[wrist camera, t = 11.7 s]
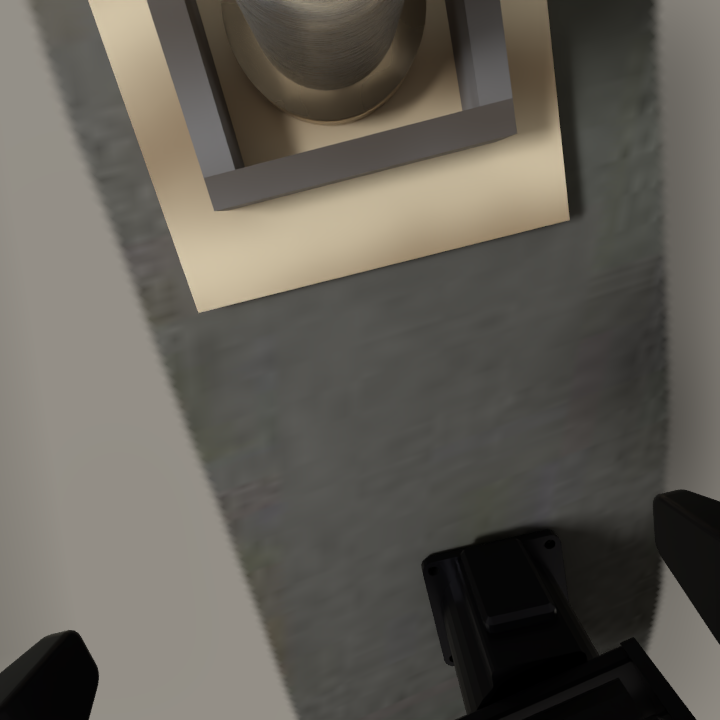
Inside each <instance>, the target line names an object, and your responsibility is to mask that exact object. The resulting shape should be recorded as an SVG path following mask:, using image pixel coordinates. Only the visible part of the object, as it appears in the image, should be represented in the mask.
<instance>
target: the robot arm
mask: <svg viewBox="0 0 720 720" xmlns="http://www.w3.org/2000/svg"><path fill="white" fill-rule="evenodd" d="M653 516H654V531H655V542H656V546H657V549H658V551H659V553H660V555H661V557H662V558H663V560H664V562H665V563H666V565H667V566H668V568H669V569H670V571H671V572H672V574H673V575H674V577H675V578H676V579H677V581H678V583H679V584H680V586H681V587H682V589H683V590H684V592H685V593H686V595H687V596H688V598H689V599H690V601H691V602H692V604H693V605H694V607H695V608H696V610H697V611H698V613H699V614H700V616H701V617H702V619H703V620H704V622H705V623H706V625H707V626H708V628H709V629H710V631H711V632H712V634H713V635H714V637H715V638H716V640H717V641H718V643H719V644H720V502H719V501H717V500H714V499H711V498H708V497H705V496H702V495H699V494H696V493H693V492H691V491H687V490H675V491H671V492H666V493H662V494H658V495H657V496H656V497H655V498H654V500H653ZM548 540H551V541H550V542H549V543H545V542H546V541H548ZM421 567H422V572H423V576H424V580H425V584H426V588H427V592H428V596H429V600H430V604H431V608H432V612H433V616H434V620H435V624H436V628H437V632H438V636H439V640H440V644H441V648H442V652H443V656H444V661H445V662H446V664H448V665H450V666H455V669H456V673H457V677H458V681H459V685H460V689H461V693H462V697H463V701H464V705H465V709H466V713H467V715H465V716H462V717H460V718H458V719H456V720H696V719H695V717H694V716H693V715H692V713H691V712H690V711H689V709H688V708H687V707H686V705H685V704H684V703H683V702H682V700H681V699H680V698H679V696H678V695H677V694H676V692H675V691H674V690H673V688H672V687H671V686H670V684H669V683H668V682H667V680H666V679H665V678H664V676H663V675H662V674H661V672H660V671H659V670H658V668H657V667H656V666H655V664H654V663H653V662H652V660H651V659H650V658H649V657H648V655H647V654H646V653H645V651H644V650H643V649H642V647H641V646H640V645H639V643H638V642H637V641H636V639H635V638H634V637H633V638H630V639H628V640H626V641H624V642H621V643H620V644H621V646H620V647H618V648H615V649H613V650H611V651H609V652H606V653H604V654H602V655H600V656H599V654H598V652H597V651H596V649H595V647H594V645H593V644H592V642H591V640H590V639H589V637H588V635H587V633H586V632H585V630H584V628H583V626H582V625H581V623H580V621H579V620H578V618H577V616H576V614H575V613H574V611H573V609H572V607H571V606H570V604H569V600H568V593H567V585H566V578H565V570H564V563H563V556H562V548H561V542H560V539H559V538H558V536H557V535H556V533H555V532H554V531H552V530H543V531H539V532H535V533H530V534H526V535H521V536H517V537H513V538H508V539H504V540H500V541H495V542H491V543H487V544H482V545H478V546H474V547H469V548H465V549H461V550H456V551H452V552H447V553H443V554H439V555H434V556H430V557H427V558H426V559H424V560H423V562H422V564H421ZM431 567H436V568H435V569H429V568H431ZM98 680H99V672H98V668H97V665H96V663H95V662H94V660H93V658H92V656H91V654H90V652H89V650H88V649H87V647H86V645H85V643H84V641H83V640H82V638H81V636H80V635H79V633H77V632H76V631H73V630H68V631H63V632H59V633H55V634H51V635H48V636H46V637H44V638H43V639H41V640H40V641H39V642H38V643H36V644H35V645H34V646H33V647H31V648H30V649H29V650H28V651H26V652H25V653H24V654H23V655H22V656H20V657H19V658H18V659H17V660H16V661H14V662H13V663H12V664H11V665H9V666H8V667H7V668H6V669H5V670H4V671H2V672H1V673H0V720H89V716H90V713H91V709H92V705H93V702H94V698H95V694H96V691H97V686H98Z"/></svg>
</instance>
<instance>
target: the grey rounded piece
mask: <svg viewBox="0 0 720 720" xmlns="http://www.w3.org/2000/svg"><path fill="white" fill-rule="evenodd" d="M221 7H222V15H223V22H224V26H225V30H226V35H227V38H228V40H229V43H230V46H231V49H232V51H233V53H234V55H235V57H236V59H237V61H238V63H239V65H240V66H241V68H242V70H243V71H244V73H245V74H246V76H247V77H248V78H249V80H250V81H251V82H252V84H253V85H254V86H255V88H256V89H257V90H258V91H259V92H260V94H261V95H262V96H263V97H264V98H265V99H266V100H267V101H268V102H269V103H270V104H272V105H273V106H274V107H276V108H277V109H278V110H280V111H281V112H283V113H285V114H286V115H288V116H290V117H292V118H294V119H297V120H300V121H302V122H305V123H310V124H314V125H324V126H332V125H342V124H347V123H351V122H354V121H357V120H359V119H362V118H364V117H366V116H368V115H370V114H371V113H373V112H374V111H376V110H377V109H379V108H380V107H381V106H383V105H384V104H385V103H386V102H387V101H388V100H389V99H390V98H391V97H392V96H393V95H394V93H395V92H396V91H397V90H398V88H399V87H400V86H401V84H402V82H403V81H404V79H405V78H406V76H407V74H408V72H409V69H410V67H411V65H412V63H413V61H414V59H415V56H416V54H417V52H418V49H419V46H420V43H421V40H422V35H423V31H424V26H425V18H426V0H221Z"/></svg>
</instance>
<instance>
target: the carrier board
mask: <svg viewBox="0 0 720 720" xmlns="http://www.w3.org/2000/svg"><path fill="white" fill-rule="evenodd" d="M88 1H89V4H90V7H91V9H92V12H93V15H94V18H95V21H96V24H97V26H98V29H99V32H100V35H101V38H102V41H103V43H104V46H105V49H106V52H107V55H108V58H109V60H110V63H111V66H112V69H113V72H114V75H115V77H116V80H117V83H118V86H119V89H120V92H121V94H122V97H123V100H124V103H125V106H126V109H127V111H128V114H129V117H130V120H131V123H132V126H133V128H134V131H135V134H136V137H137V140H138V143H139V145H140V148H141V151H142V154H143V157H144V160H145V162H146V165H147V168H148V171H149V174H150V177H151V179H152V182H153V185H154V188H155V191H156V194H157V196H158V199H159V202H160V205H161V208H162V211H163V213H164V216H165V219H166V222H167V225H168V228H169V230H170V233H171V236H172V239H173V242H174V245H175V247H176V250H177V253H178V256H179V259H180V262H181V264H182V267H183V270H184V273H185V276H186V279H187V281H188V284H189V287H190V290H191V293H192V296H193V298H194V301H195V304H196V307H197V310H198V313H200V312H204V311H208V310H212V309H216V308H220V307H224V306H228V305H232V304H236V303H240V302H244V301H248V300H252V299H256V298H260V297H264V296H268V295H272V294H276V293H280V292H284V291H288V290H292V289H296V288H300V287H304V286H308V285H312V284H316V283H320V282H324V281H328V280H332V279H336V278H340V277H344V276H348V275H352V274H356V273H360V272H364V271H368V270H372V269H376V268H380V267H384V266H388V265H392V264H396V263H400V262H404V261H408V260H412V259H416V258H420V257H424V256H428V255H432V254H436V253H440V252H444V251H448V250H452V249H456V248H460V247H464V246H468V245H472V244H476V243H480V242H484V241H488V240H492V239H496V238H500V237H504V236H508V235H512V234H516V233H520V232H524V231H528V230H532V229H536V228H540V227H544V226H548V225H552V224H556V223H560V222H564V221H568V220H570V218H569V209H568V199H567V189H566V180H565V170H564V160H563V151H562V141H561V131H560V122H559V112H558V102H557V93H556V83H555V73H554V64H553V54H552V44H551V35H550V25H549V15H548V6H547V0H426V18H425V26H424V31H423V35H422V40H421V43H420V46H419V49H418V52H417V54H416V56H415V59H414V61H413V63H412V65H411V67H410V69H409V72H408V74H407V76H406V78H405V79H404V81H403V82H402V84H401V86H400V87H399V88H398V90H397V91H396V92H395V93H394V95H393V96H392V97H391V98H390V99H389V100H388V101H387V102H386V103H385V104H384V105H383V106H381V107H380V108H379V109H377V110H376V111H374V112H373V113H371V114H370V115H368V116H366V117H364V118H362V119H359V120H357V121H354V122H351V123H347V124H342V125H332V126H324V125H314V124H310V123H305V122H302V121H300V120H297V119H294V118H292V117H290V116H288V115H286V114H285V113H283V112H281V111H280V110H278V109H277V108H276V107H274V106H273V105H272V104H270V103H269V102H268V101H267V100H266V99H265V98H264V97H263V96H262V95H261V94H260V92H259V91H258V90H257V89H256V88H255V86H254V85H253V84H252V82H251V81H250V80H249V78H248V77H247V76H246V74H245V73H244V71H243V70H242V68H241V66H240V65H239V63H238V61H237V59H236V57H235V55H234V53H233V51H232V49H231V46H230V43H229V40H228V38H227V35H226V30H225V26H224V22H223V15H222V7H221V0H88Z"/></svg>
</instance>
